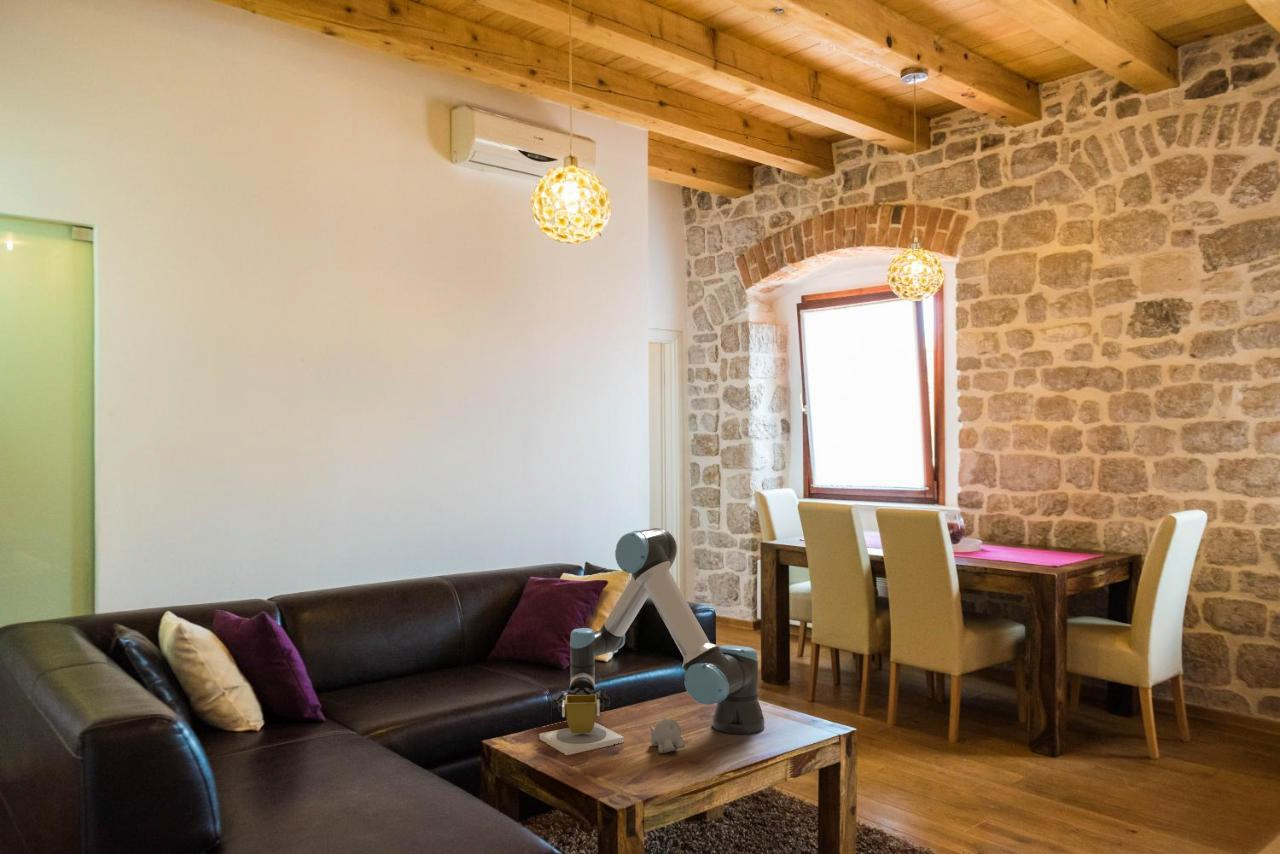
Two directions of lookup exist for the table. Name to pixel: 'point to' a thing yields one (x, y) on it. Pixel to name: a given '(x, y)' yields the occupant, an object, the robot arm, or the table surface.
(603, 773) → the table surface
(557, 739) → the tile stand
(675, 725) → the hippopotamus figurine
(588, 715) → the flower pot
